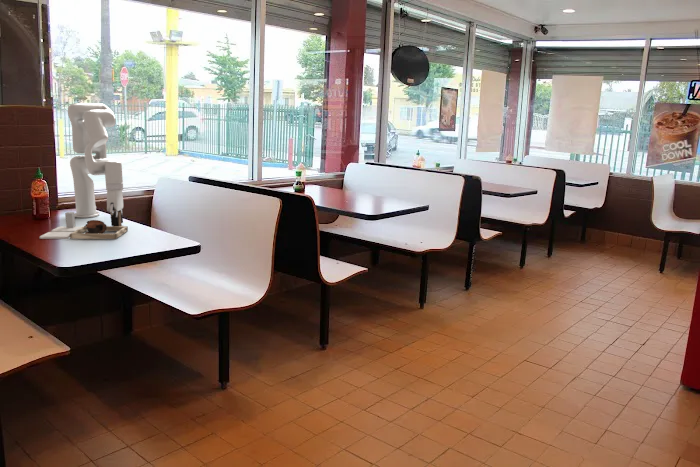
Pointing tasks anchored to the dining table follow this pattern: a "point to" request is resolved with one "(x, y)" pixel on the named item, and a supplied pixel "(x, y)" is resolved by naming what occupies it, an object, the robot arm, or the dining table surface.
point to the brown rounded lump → (95, 227)
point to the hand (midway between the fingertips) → (117, 224)
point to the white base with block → (62, 229)
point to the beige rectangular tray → (119, 228)
